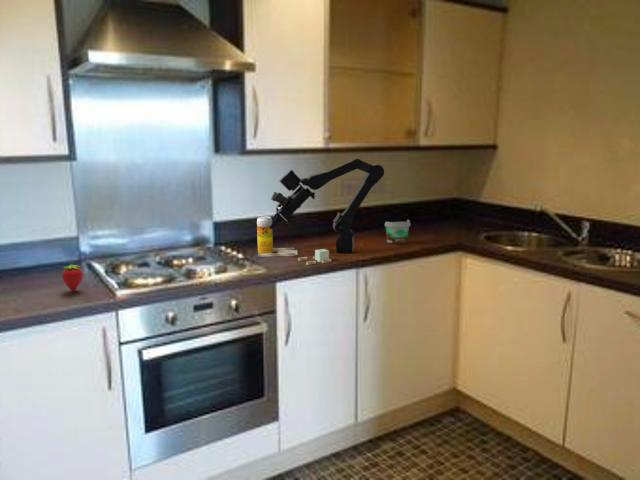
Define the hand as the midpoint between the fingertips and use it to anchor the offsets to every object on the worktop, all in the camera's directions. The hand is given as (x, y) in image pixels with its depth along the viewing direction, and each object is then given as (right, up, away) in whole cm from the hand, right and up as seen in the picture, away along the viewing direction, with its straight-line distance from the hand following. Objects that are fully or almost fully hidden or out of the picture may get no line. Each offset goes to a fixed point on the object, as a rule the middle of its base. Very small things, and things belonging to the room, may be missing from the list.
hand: (270, 226), depth 224 cm
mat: (+7, -11, +3) cm, 13 cm away
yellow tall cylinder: (-2, -11, +2) cm, 12 cm away
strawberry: (-57, -22, -50) cm, 79 cm away
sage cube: (+21, -13, -10) cm, 27 cm away
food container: (+55, -7, +20) cm, 59 cm away
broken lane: (+18, -13, -12) cm, 26 cm away
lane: (+2, -11, +2) cm, 11 cm away
